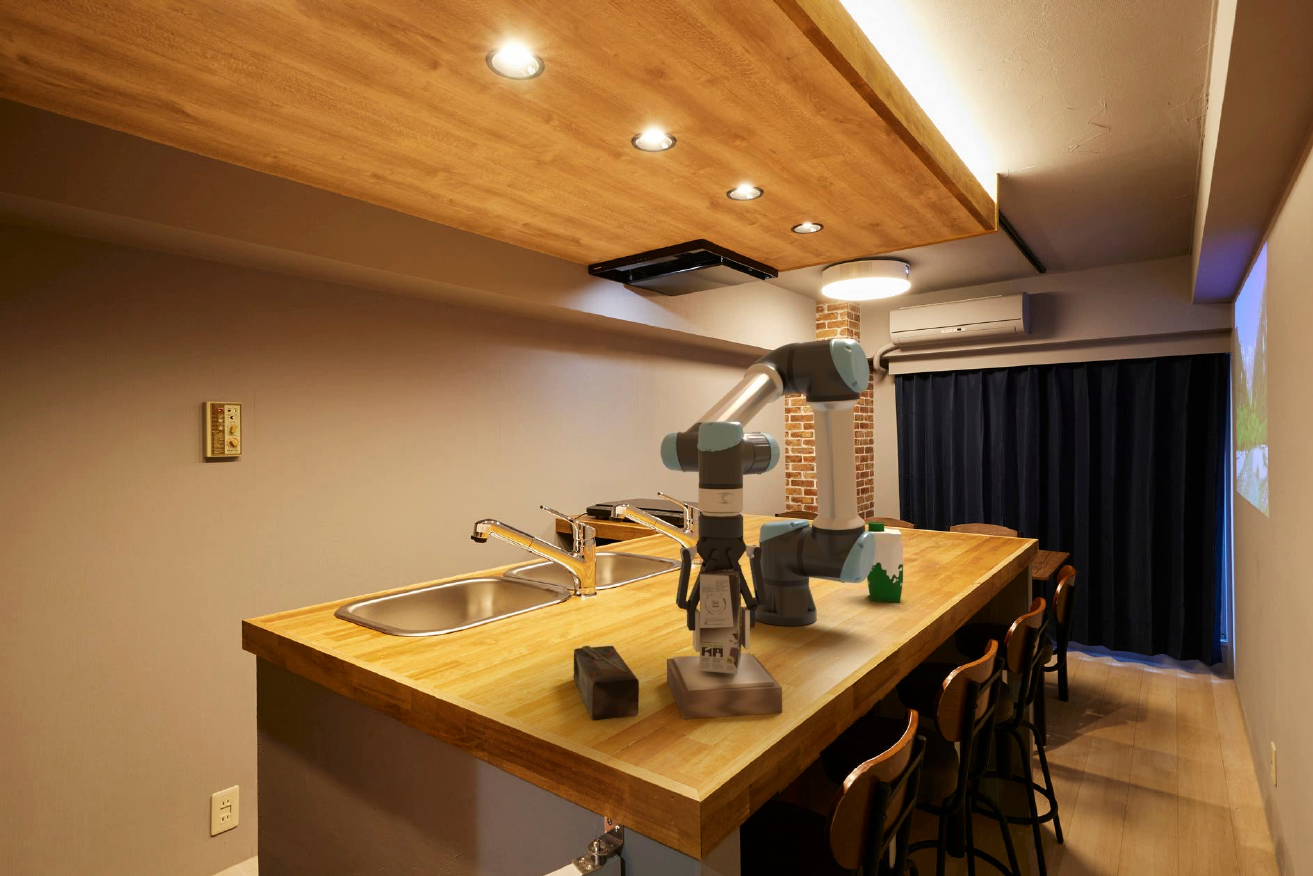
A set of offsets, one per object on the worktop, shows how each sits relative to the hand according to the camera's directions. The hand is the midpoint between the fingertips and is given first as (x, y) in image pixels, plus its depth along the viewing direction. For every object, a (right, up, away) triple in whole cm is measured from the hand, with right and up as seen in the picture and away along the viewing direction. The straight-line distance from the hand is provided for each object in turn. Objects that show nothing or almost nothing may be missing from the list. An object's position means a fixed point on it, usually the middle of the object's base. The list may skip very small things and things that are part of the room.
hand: (721, 647), depth 114 cm
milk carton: (+49, -7, +65) cm, 82 cm away
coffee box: (0, -3, 0) cm, 3 cm away
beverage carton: (-20, -9, 0) cm, 22 cm away
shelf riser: (0, -8, 0) cm, 8 cm away
